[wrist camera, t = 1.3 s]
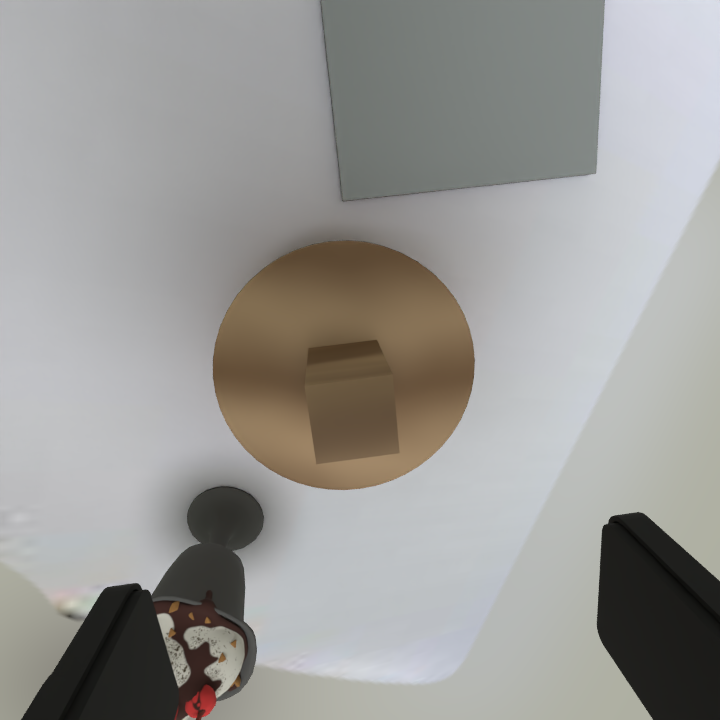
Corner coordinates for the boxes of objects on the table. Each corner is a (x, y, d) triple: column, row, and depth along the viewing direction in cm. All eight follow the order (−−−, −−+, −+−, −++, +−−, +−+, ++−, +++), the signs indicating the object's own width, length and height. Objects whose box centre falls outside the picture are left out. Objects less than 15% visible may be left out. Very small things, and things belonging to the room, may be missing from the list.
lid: (192, 256, 20) (142, 271, 15) (463, 226, 21) (517, 228, 15) (242, 493, 24) (218, 578, 18) (471, 462, 25) (517, 536, 19)
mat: (307, -123, 21) (306, -133, 20) (604, -146, 21) (612, -156, 21) (342, 201, 25) (343, 200, 24) (590, 174, 26) (596, 173, 25)
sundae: (294, 500, 30) (271, 752, 16) (247, 573, 32) (185, 864, 17) (203, 457, 29) (87, 691, 15) (157, 535, 30) (10, 819, 16)
